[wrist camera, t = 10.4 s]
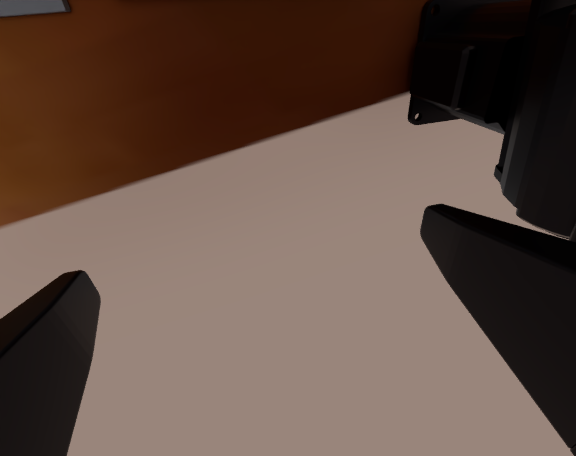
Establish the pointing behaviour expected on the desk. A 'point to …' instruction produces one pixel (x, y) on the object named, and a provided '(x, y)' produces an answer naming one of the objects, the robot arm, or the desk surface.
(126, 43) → the desk surface
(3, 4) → the dark gray panel
